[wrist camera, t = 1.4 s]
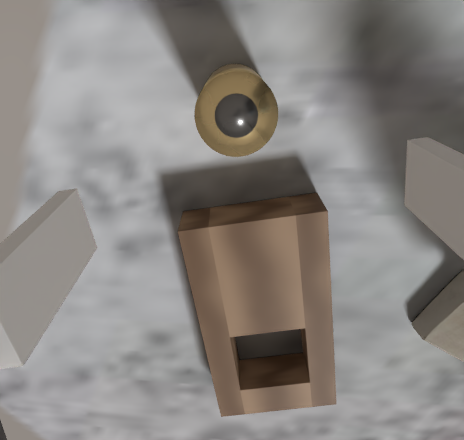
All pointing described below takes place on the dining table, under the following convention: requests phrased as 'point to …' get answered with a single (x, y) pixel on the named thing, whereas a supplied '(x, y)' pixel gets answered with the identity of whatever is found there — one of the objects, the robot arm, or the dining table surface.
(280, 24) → the dining table surface
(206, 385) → the dining table surface
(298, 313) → the block
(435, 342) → the sculpture
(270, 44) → the dining table surface
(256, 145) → the bushing
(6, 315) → the robot arm
